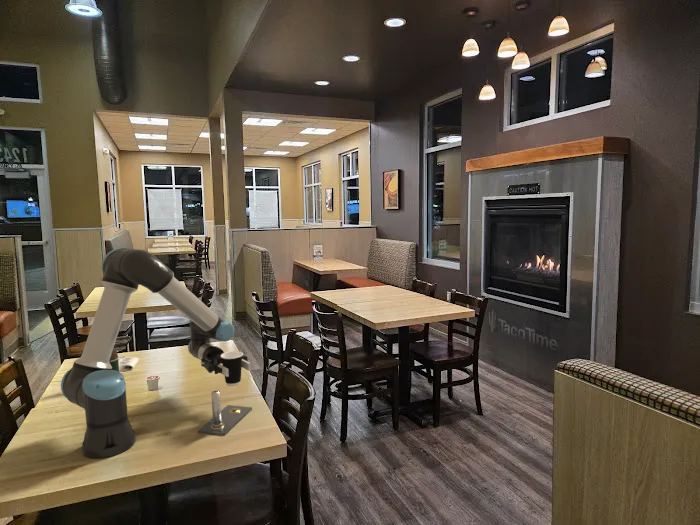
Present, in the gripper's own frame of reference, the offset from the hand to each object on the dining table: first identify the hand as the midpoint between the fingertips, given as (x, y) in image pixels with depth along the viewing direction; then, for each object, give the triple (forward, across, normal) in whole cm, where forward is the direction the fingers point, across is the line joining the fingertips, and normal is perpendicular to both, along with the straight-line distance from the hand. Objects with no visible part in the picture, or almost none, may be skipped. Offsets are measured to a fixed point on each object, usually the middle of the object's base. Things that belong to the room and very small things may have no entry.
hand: (238, 369), depth 163 cm
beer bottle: (-69, +27, -18) cm, 76 cm away
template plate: (-1, +5, -18) cm, 18 cm away
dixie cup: (-5, 0, -7) cm, 8 cm away
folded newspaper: (-88, +18, -18) cm, 92 cm away
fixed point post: (+2, +10, -18) cm, 20 cm away
